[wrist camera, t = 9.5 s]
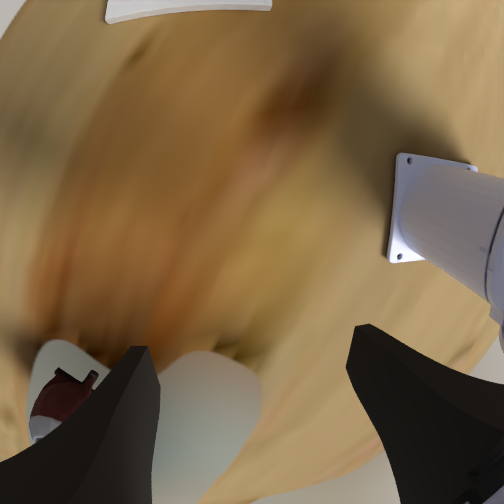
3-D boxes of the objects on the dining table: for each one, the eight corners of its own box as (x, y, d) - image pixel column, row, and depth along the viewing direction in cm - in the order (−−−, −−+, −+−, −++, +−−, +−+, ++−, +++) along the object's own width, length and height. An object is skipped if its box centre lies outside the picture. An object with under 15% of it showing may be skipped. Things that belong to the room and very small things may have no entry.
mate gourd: (131, 389, 21) (107, 547, 7) (101, 421, 22) (77, 543, 8) (59, 343, 19) (-10, 492, 5) (40, 383, 20) (-7, 501, 6)
